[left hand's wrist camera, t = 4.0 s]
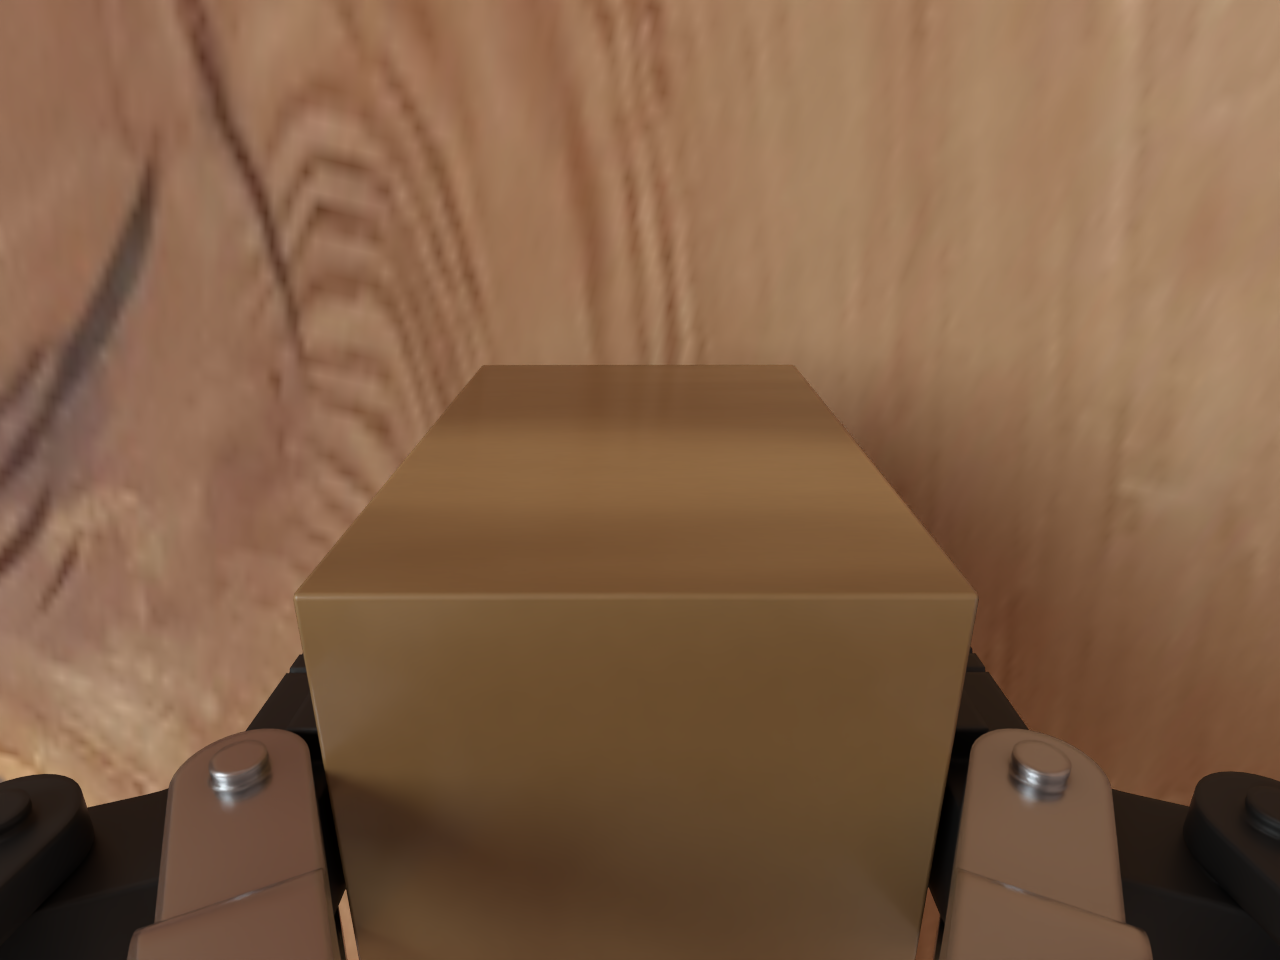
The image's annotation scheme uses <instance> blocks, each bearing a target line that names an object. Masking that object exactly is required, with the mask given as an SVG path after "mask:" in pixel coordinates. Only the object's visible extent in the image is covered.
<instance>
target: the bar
mask: <svg viewBox="0 0 1280 960" xmlns="http://www.w3.org/2000/svg"><path fill="white" fill-rule="evenodd" d="M293 600H294V606H295V611H296V617H297V622H298V628H299V633H300V639H301V644H302V649H303V655H304V660H305V666H306V671H307V677H308V682H309V688H310V693H311V699H312V704H313V710H314V715H315V721H316V726H317V731H318V737H319V742H320V748H321V753H322V759H323V764H324V770H325V775H326V781H327V786H328V792H329V797H330V803H331V808H332V814H333V819H334V824H335V830H336V835H337V841H338V846H339V852H340V857H341V863H342V868H343V874H344V879H345V885H346V890H347V896H348V901H349V906H350V912H351V917H352V923H353V928H354V934H355V939H356V945H357V950H358V956H359V960H915V957H916V952H917V946H918V940H919V935H920V929H921V923H922V918H923V912H924V906H925V901H926V895H927V889H928V884H929V878H930V872H931V866H932V861H933V855H934V849H935V844H936V838H937V832H938V827H939V821H940V815H941V810H942V804H943V798H944V793H945V787H946V781H947V776H948V770H949V764H950V759H951V753H952V747H953V742H954V736H955V730H956V725H957V719H958V713H959V708H960V702H961V696H962V691H963V685H964V679H965V674H966V668H967V662H968V657H969V651H970V645H971V640H972V634H973V628H974V623H975V617H976V611H977V605H978V600H979V597H978V593H977V592H976V590H975V589H974V588H973V587H972V586H971V584H970V583H969V582H968V581H967V579H966V578H965V577H964V576H963V574H962V573H961V572H960V571H959V569H958V568H957V567H956V566H955V564H954V563H953V562H952V561H951V559H950V558H949V557H948V556H947V554H946V553H945V552H944V551H943V550H942V548H941V547H940V546H939V545H938V543H937V542H936V541H935V540H934V538H933V537H932V536H931V535H930V533H929V532H928V531H927V530H926V528H925V527H924V526H923V525H922V523H921V522H920V521H919V520H918V519H917V517H916V516H915V515H914V514H913V512H912V511H911V510H910V509H909V507H908V506H907V505H906V504H905V502H904V501H903V500H902V499H901V497H900V496H899V495H898V494H897V492H896V491H895V490H894V489H893V488H892V486H891V485H890V484H889V483H888V481H887V480H886V479H885V478H884V476H883V475H882V474H881V473H880V471H879V470H878V469H877V468H876V466H875V465H874V464H873V463H872V461H871V460H870V459H869V458H868V456H867V455H866V454H865V453H864V452H863V450H862V449H861V448H860V447H859V445H858V444H857V443H856V442H855V440H854V439H853V438H852V437H851V435H850V434H849V433H848V432H847V430H846V429H845V428H844V427H843V425H842V424H841V423H840V422H839V421H838V419H837V418H836V417H835V416H834V414H833V413H832V412H831V411H830V409H829V408H828V407H827V406H826V404H825V403H824V402H823V401H822V399H821V398H820V397H819V396H818V394H817V393H816V392H815V391H814V390H813V388H812V387H811V386H810V385H809V383H808V382H807V381H806V380H805V378H804V377H803V376H802V375H801V373H800V372H799V371H798V370H797V368H796V367H795V366H793V365H484V366H482V367H481V368H480V369H479V370H478V372H477V373H476V374H475V375H474V377H473V378H472V379H471V380H470V381H469V383H468V384H467V385H466V386H465V387H464V389H463V390H462V391H461V392H460V393H459V395H458V396H457V397H456V398H455V400H454V401H453V402H452V403H451V404H450V406H449V407H448V408H447V409H446V410H445V412H444V413H443V414H442V415H441V417H440V418H439V419H438V420H437V421H436V423H435V424H434V425H433V426H432V427H431V429H430V430H429V431H428V432H427V434H426V435H425V436H424V437H423V438H422V440H421V441H420V442H419V443H418V444H417V446H416V447H415V448H414V449H413V450H412V452H411V453H410V454H409V455H408V457H407V458H406V459H405V460H404V461H403V463H402V464H401V465H400V466H399V467H398V469H397V470H396V471H395V472H394V474H393V475H392V476H391V477H390V478H389V480H388V481H387V482H386V483H385V484H384V486H383V487H382V488H381V489H380V490H379V492H378V493H377V494H376V495H375V497H374V498H373V499H372V500H371V501H370V503H369V504H368V505H367V506H366V507H365V509H364V510H363V511H362V512H361V514H360V515H359V516H358V517H357V518H356V520H355V521H354V522H353V523H352V524H351V526H350V527H349V528H348V529H347V531H346V532H345V533H344V534H343V535H342V537H341V538H340V539H339V540H338V541H337V543H336V544H335V545H334V546H333V547H332V549H331V550H330V551H329V552H328V554H327V555H326V556H325V557H324V558H323V560H322V561H321V562H320V563H319V564H318V566H317V567H316V568H315V569H314V571H313V572H312V573H311V574H310V575H309V577H308V578H307V579H306V580H305V581H304V583H303V584H302V585H301V586H300V588H299V589H298V590H297V591H296V592H295V594H294V597H293Z"/></svg>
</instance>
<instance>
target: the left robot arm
mask: <svg viewBox="0 0 1280 960" xmlns="http://www.w3.org/2000/svg"><path fill="white" fill-rule="evenodd" d="M928 887H929V889H930V891H931V894H932V896H933V898H934V901H935V903H936V906H937V908H938V911H939V913H940V917H939V922H938V928H937V934H936V941H935V947H934V954H933V960H1280V782H1279V781H1276V780H1274V779H1271V778H1267V777H1263V776H1259V775H1255V774H1249V773H1244V772H1218V773H1213V774H1210V775H1208V776H1205V777H1204V778H1202V779H1201V780H1200V781H1199V782H1198V784H1197V786H1196V788H1195V791H1194V794H1193V797H1192V800H1191V804H1190V807H1189V806H1184V805H1180V804H1175V803H1171V802H1166V801H1161V800H1157V799H1152V798H1148V797H1143V796H1139V795H1134V794H1130V793H1125V792H1122V791H1118V790H1114V789H1111V785H1110V782H1109V780H1108V778H1107V776H1106V774H1105V773H1104V772H1103V770H1102V769H1101V768H1100V767H1099V766H1098V765H1097V764H1096V763H1095V762H1094V761H1093V760H1092V759H1091V758H1090V757H1089V756H1087V755H1086V754H1085V753H1083V752H1082V751H1080V750H1079V749H1077V748H1076V747H1074V746H1072V745H1070V744H1068V743H1066V742H1064V741H1062V740H1060V739H1057V738H1055V737H1052V736H1050V735H1046V734H1043V733H1040V732H1035V731H1031V730H1029V729H1028V728H1027V727H1026V725H1025V724H1024V722H1023V721H1022V719H1021V718H1020V717H1019V715H1018V714H1017V712H1016V711H1015V709H1014V708H1013V707H1012V705H1011V704H1010V702H1009V701H1008V699H1007V698H1006V697H1005V695H1004V694H1003V692H1002V691H1001V689H1000V688H999V687H998V685H997V684H996V682H995V681H994V679H993V678H992V677H991V675H990V674H989V672H985V667H984V665H983V664H982V662H981V661H980V659H979V658H978V657H977V655H976V654H975V653H972V648H971V646H970V651H969V657H968V662H967V668H966V674H965V679H964V685H963V691H962V696H961V702H960V708H959V713H958V719H957V725H956V730H955V736H954V742H953V747H952V753H951V759H950V764H949V770H948V776H947V781H946V787H945V793H944V798H943V804H942V810H941V815H940V821H939V827H938V832H937V838H936V844H935V849H934V855H933V861H932V866H931V872H930V878H929V884H928ZM345 889H346V885H345V879H344V874H343V868H342V863H341V857H340V852H339V846H338V841H337V835H336V830H335V824H334V819H333V814H332V808H331V803H330V797H329V792H328V786H327V781H326V775H325V770H324V764H323V759H322V753H321V748H320V742H319V737H318V731H317V726H316V721H315V715H314V710H313V704H312V699H311V693H310V688H309V682H308V677H307V671H306V666H305V660H304V655H303V654H302V655H299V656H298V658H297V659H296V660H295V662H294V663H293V665H292V666H291V668H290V673H286V675H285V676H284V677H283V679H282V680H281V682H280V683H279V684H278V686H277V687H276V689H275V690H274V692H273V693H272V694H271V696H270V697H269V699H268V700H267V701H266V703H265V704H264V706H263V707H262V708H261V710H260V711H259V713H258V714H257V716H256V717H255V718H254V720H253V721H252V723H251V724H250V725H249V727H248V728H247V730H246V731H245V732H240V733H237V734H234V735H230V736H228V737H225V738H223V739H220V740H218V741H216V742H214V743H212V744H210V745H208V746H206V747H204V748H203V749H201V750H200V751H198V752H197V753H195V754H194V755H193V756H191V757H190V758H189V759H188V760H187V761H186V762H185V763H184V764H183V765H182V766H181V767H180V768H179V769H178V770H177V772H176V773H175V774H174V776H173V778H172V780H171V782H170V785H169V788H168V789H165V790H162V791H159V792H155V793H151V794H147V795H143V796H138V797H134V798H129V799H125V800H120V801H116V802H111V803H107V804H102V805H97V806H93V807H88V808H87V806H86V803H85V800H84V797H83V793H82V790H81V788H80V786H79V785H78V783H76V782H75V781H74V780H73V779H71V778H68V777H66V776H61V775H56V774H40V775H31V776H25V777H20V778H16V779H12V780H8V781H5V782H2V783H0V960H347V954H346V947H345V940H344V934H343V928H342V922H341V917H340V912H339V906H338V905H339V903H340V901H341V898H342V896H343V893H344V891H345Z"/></svg>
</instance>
